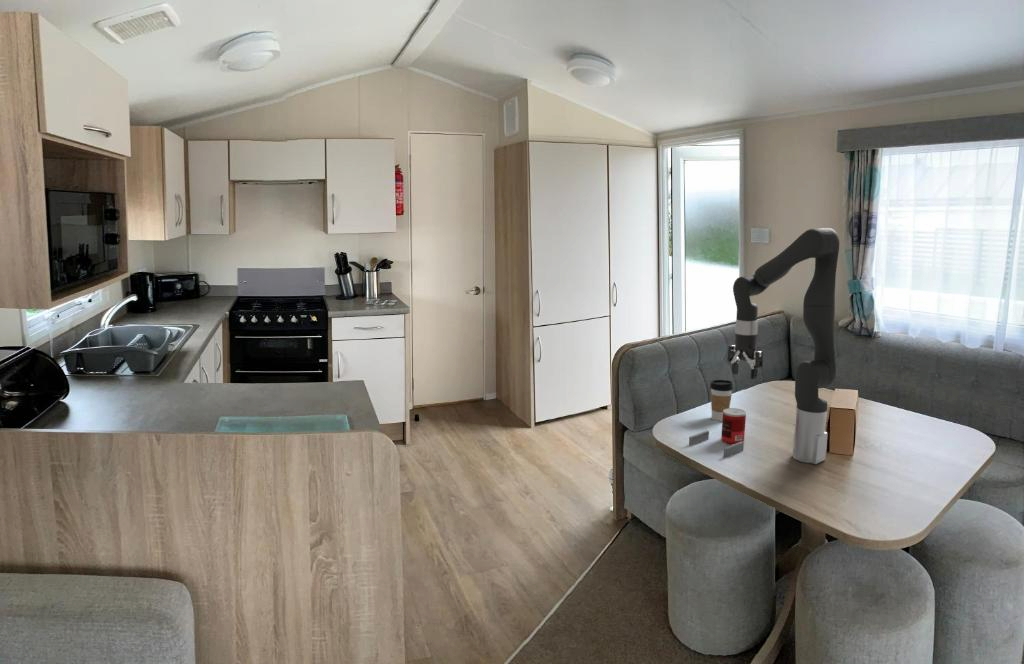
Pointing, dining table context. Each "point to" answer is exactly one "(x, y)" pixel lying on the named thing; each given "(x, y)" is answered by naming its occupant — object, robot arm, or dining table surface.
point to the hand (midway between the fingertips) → (744, 376)
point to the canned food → (733, 425)
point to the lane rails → (727, 451)
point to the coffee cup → (720, 397)
